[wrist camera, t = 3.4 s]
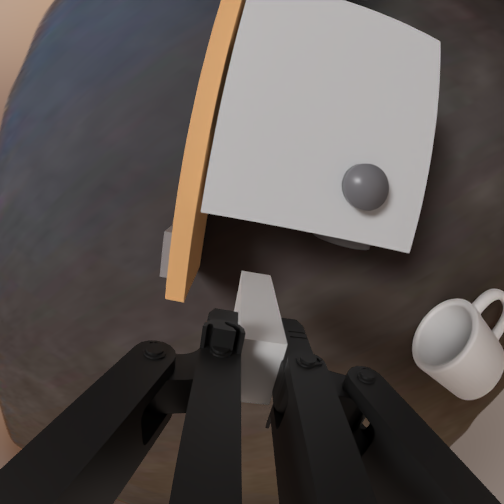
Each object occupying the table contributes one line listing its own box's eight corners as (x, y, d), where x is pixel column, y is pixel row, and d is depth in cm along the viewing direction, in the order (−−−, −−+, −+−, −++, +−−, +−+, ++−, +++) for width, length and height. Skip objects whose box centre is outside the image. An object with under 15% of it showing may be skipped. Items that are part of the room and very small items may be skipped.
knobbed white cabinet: (250, 37, 20) (252, -28, 11) (385, 73, 21) (447, 38, 12) (215, 207, 24) (195, 232, 15) (355, 234, 25) (411, 272, 15)
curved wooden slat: (225, 17, 19) (219, -30, 12) (249, 20, 19) (250, -28, 12) (178, 262, 25) (153, 298, 18) (201, 266, 25) (184, 304, 18)
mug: (439, 375, 30) (469, 414, 22) (399, 343, 28) (433, 388, 21) (498, 302, 28) (538, 329, 20) (468, 256, 26) (517, 282, 18)
